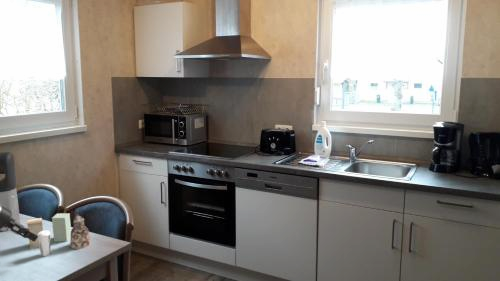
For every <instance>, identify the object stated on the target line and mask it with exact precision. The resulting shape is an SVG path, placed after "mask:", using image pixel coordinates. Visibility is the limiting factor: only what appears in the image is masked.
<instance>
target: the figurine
mask: <svg viewBox="0 0 500 281" xmlns="http://www.w3.org/2000/svg"><path fill="white" fill-rule="evenodd" d="M90 244H91V237H90V232H89V228H88V227H87V226H86V225H85V218H84V217H83V216H81V215H80V214H76V215H75V217H74V218H73V227H71V237H70V248H72V249H76V250H80V249H81V250H82V249H85V248H86V247H89V246H90Z"/></svg>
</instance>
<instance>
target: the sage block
mask: <svg viewBox="0 0 500 281" xmlns="http://www.w3.org/2000/svg"><path fill="white" fill-rule="evenodd" d="M70 216H71V215H70V213H69V212H68V213H61V212H60V213H56V214H54V216H52V217H51V222H52V223H51V224H52V233H53V241H54V242H55V243H58V242H59V243H60V242H61V243H62V242H68V241H69V240H71V230H72V227H71V226H72V225H71V217H70Z"/></svg>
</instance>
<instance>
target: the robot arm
mask: <svg viewBox="0 0 500 281" xmlns="http://www.w3.org/2000/svg"><path fill="white" fill-rule="evenodd" d="M0 175H4V177H3V178H2V179H0V231H1V232H5V231H9V232H12V233H14V234H15V235H17V236H21V237H23V239H28V240H29V239H30V240H32V241H36V239H37V238H38V236H37V235H35V234H33V233H32V232H30V231H29V229H28V227H25V225H23V224H21V219H20V218H21V217H20V209H19V208H20V207H19V199H18V190H17V184H16V182H17V181H16V180H17V179H16V165H15V156H14V155H13V153H12V152H10V151H6V152H5V151H4V152H3V151H2V152H0Z"/></svg>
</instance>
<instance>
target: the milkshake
mask: <svg viewBox="0 0 500 281" xmlns="http://www.w3.org/2000/svg"><path fill="white" fill-rule="evenodd" d="M34 232H35V231H34ZM36 235H37V236H38V238H37V239H38V243H39V247H38V248H39V253H40V256H41V257H47V256H49V255H51V231H49V230H47V229H46V230H44V229H43V231H41V232H39V233H38V234H36Z"/></svg>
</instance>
